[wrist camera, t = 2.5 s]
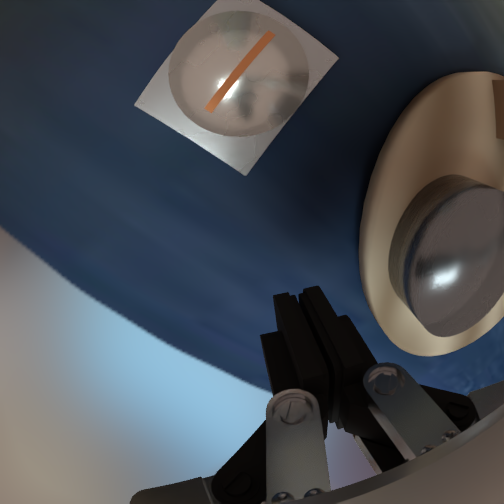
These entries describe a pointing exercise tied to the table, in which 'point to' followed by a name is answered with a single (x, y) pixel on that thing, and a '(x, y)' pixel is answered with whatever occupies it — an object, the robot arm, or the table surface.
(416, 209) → the disc
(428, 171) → the turntable
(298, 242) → the table surface
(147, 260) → the table surface
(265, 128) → the dial gauge
